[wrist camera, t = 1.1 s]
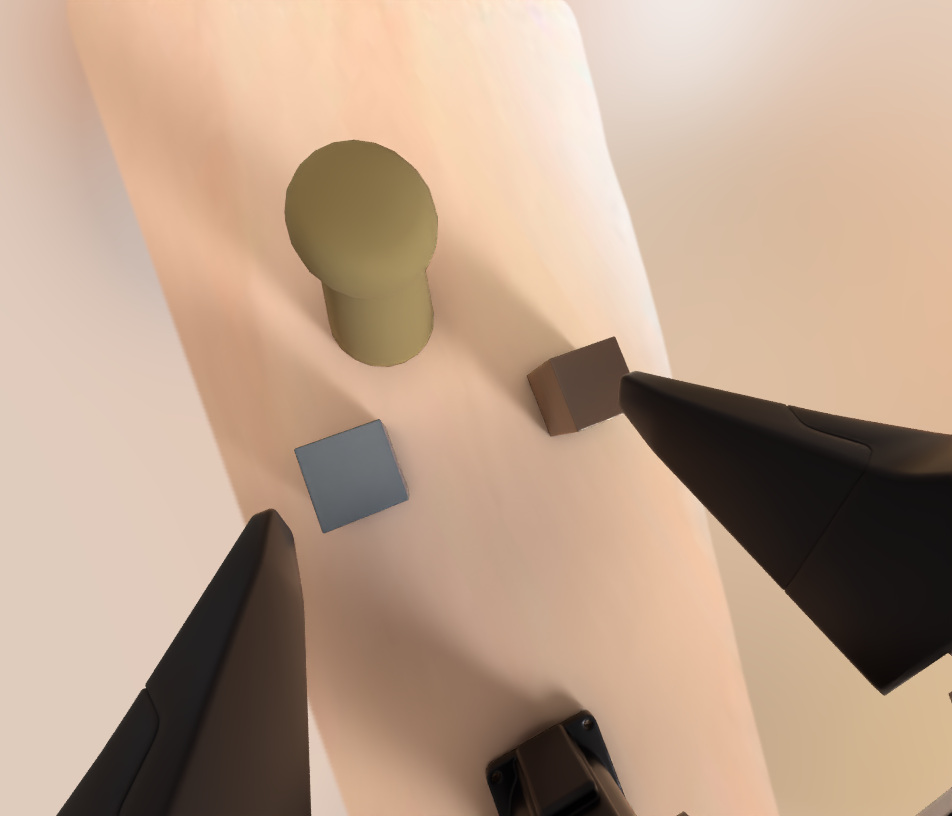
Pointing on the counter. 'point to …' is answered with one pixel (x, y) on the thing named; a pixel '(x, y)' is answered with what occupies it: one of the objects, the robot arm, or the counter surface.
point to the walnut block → (580, 387)
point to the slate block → (352, 475)
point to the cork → (366, 246)
